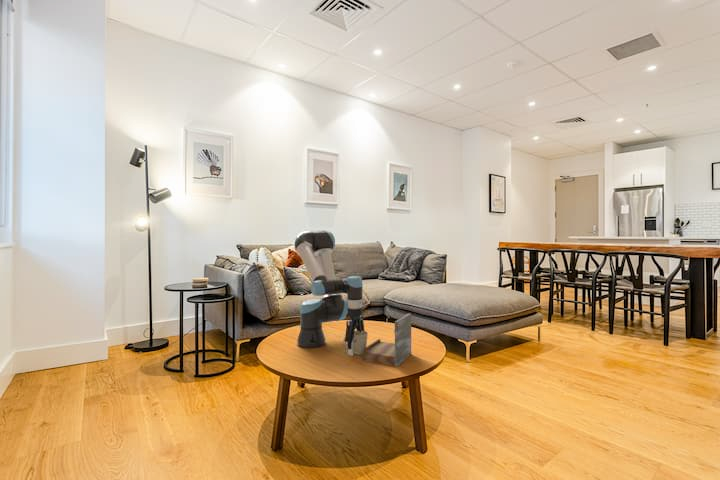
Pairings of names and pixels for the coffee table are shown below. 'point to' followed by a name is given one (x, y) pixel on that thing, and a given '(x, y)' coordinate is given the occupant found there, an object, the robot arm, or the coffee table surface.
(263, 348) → the coffee table surface
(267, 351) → the coffee table surface
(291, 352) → the coffee table surface
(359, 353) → the mug
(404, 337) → the cleat board
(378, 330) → the coffee table surface
